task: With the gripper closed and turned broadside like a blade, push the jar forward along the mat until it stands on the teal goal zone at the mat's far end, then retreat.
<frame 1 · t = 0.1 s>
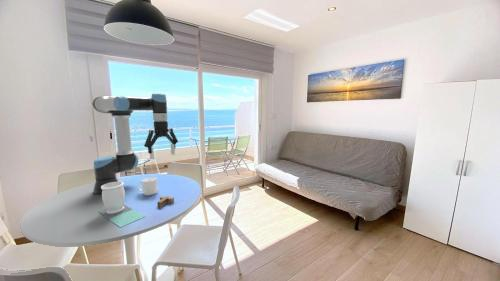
hand: (163, 156, 120), 28 cm above the table, fingers open, 13 cm apart
mat: (121, 214, 108), on the table
t block: (164, 204, 120), on the table
jar: (115, 210, 112), resting on mat
mug: (148, 192, 137), on the table
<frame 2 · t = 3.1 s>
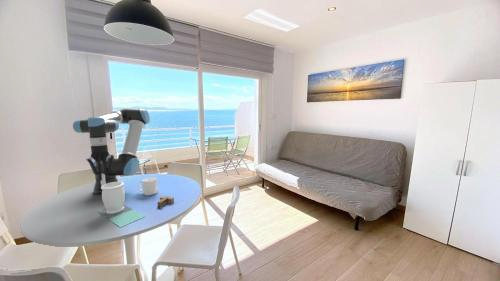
hand: (103, 184, 117), 13 cm above the table, fingers closed
nothing on the table moved.
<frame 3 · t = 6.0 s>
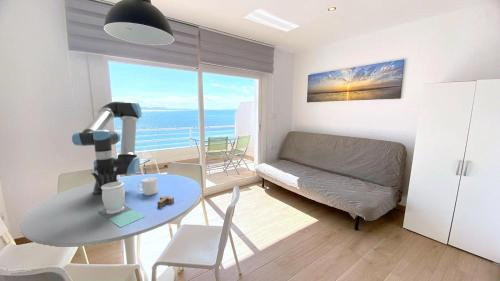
hand: (108, 198, 115), 6 cm above the table, fingers closed
jar: (115, 210, 112), resting on mat, touching gripper
everything else where it was.
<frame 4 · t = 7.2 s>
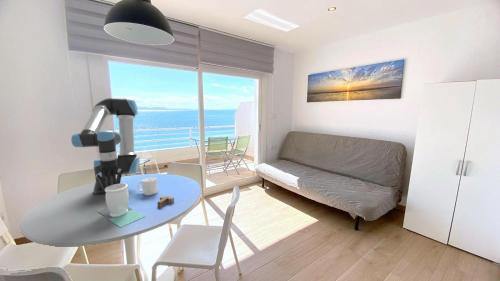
hand: (112, 200, 112), 6 cm above the table, fingers closed
jar: (119, 213, 109), resting on mat, touching gripper
everything else where it was.
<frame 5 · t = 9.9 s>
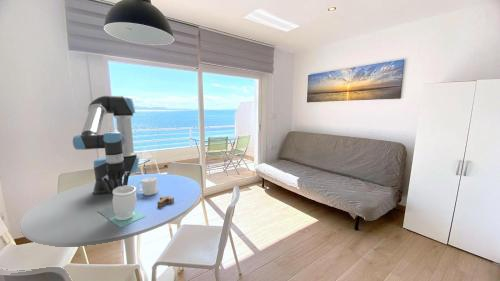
hand: (119, 204, 108), 5 cm above the table, fingers closed
jar: (124, 216, 105), point 1 cm above the table, touching gripper, mat
everything else where it was.
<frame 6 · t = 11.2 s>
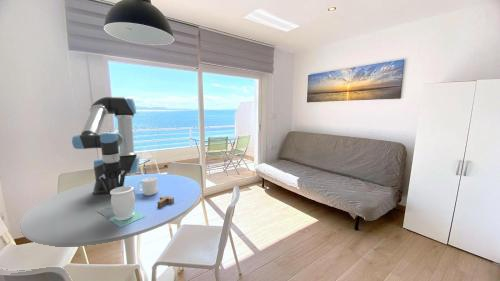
hand: (116, 202, 111), 5 cm above the table, fingers closed
jar: (125, 217, 105), resting on mat
everything else where it was.
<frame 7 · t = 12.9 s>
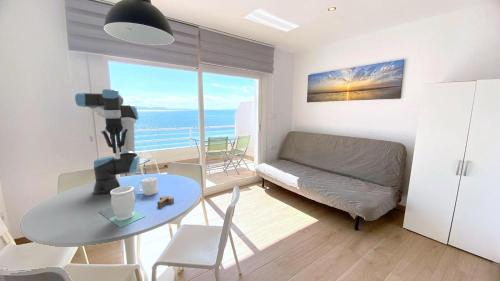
hand: (117, 158, 117), 28 cm above the table, fingers closed
nothing on the table moved.
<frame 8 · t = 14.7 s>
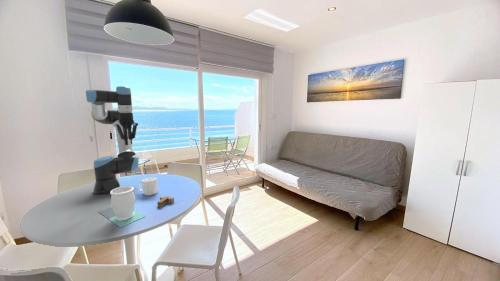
hand: (129, 149, 128), 30 cm above the table, fingers closed
nothing on the table moved.
at the end: jar inside the target area (2.6 cm from its centre), resting on mat; jar tilted 0° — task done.
